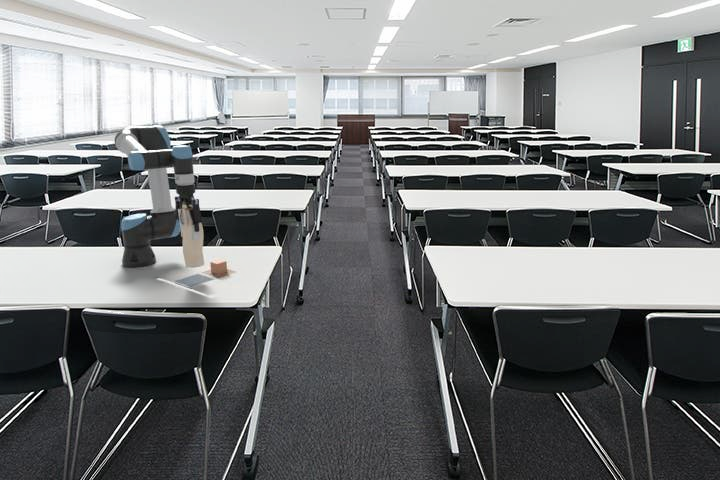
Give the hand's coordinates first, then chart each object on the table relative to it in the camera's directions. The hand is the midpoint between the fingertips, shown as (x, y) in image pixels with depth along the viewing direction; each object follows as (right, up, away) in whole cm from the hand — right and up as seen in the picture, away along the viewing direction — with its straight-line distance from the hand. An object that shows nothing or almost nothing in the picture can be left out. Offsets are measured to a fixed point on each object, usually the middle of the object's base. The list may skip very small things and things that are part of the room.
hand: (190, 237), depth 220 cm
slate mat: (0, -19, +5) cm, 20 cm away
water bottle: (+1, -12, +3) cm, 13 cm away
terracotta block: (+8, -16, +15) cm, 23 cm away
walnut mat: (+8, -17, +15) cm, 24 cm away
